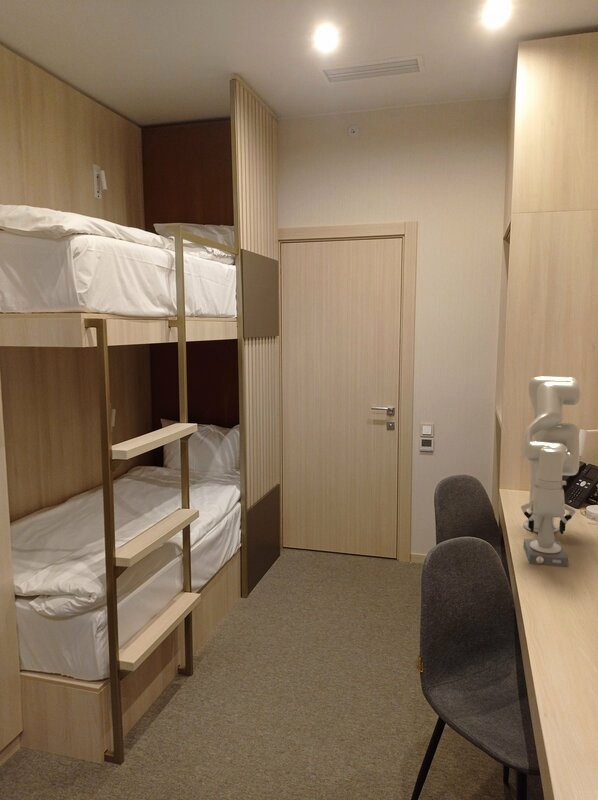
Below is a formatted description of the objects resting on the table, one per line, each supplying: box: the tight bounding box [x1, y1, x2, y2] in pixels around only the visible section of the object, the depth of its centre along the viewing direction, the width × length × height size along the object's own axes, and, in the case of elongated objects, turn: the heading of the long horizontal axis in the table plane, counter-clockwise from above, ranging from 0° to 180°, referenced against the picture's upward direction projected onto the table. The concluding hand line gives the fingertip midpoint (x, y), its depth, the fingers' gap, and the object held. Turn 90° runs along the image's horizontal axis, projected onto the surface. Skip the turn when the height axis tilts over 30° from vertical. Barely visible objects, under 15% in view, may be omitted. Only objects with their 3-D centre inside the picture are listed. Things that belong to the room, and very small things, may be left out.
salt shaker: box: [536, 516, 556, 548], centre depth 200 cm, size 6×6×13 cm
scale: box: [523, 538, 569, 568], centre depth 201 cm, size 14×12×4 cm
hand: (546, 531), depth 200 cm, fingers open, 9 cm apart
